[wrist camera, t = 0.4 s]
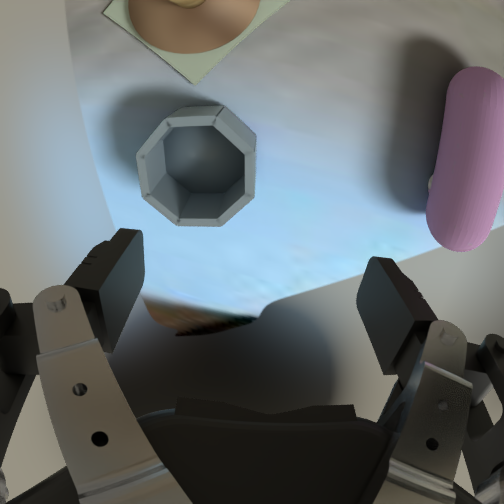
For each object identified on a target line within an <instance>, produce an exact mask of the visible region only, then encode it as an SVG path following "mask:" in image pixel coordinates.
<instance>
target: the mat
mask: <svg viewBox="0 0 504 504" xmlns="http://www.w3.org/2000/svg"><path fill="white" fill-rule="evenodd" d="M128 1H129V0H113V2H112V3H111V4H110V5H109V7H108V8H107V9H106V10H105V11H104V13H103V14H105V15H106V16H108V17H109V18H110V19H112V20H113V21H115V22H116V23H117V24H119V25H120V26H121V27H123V28H124V29H125V30H127V31H128V32H129V33H131V34H132V35H133V36H135V37H136V38H137V39H139V40H140V41H141V42H142V43H144V44H145V45H146V46H148V47H149V48H150V49H151V50H153V51H154V52H155V53H156V54H158V55H159V56H160V57H161V58H163V59H164V60H165V61H166V62H168V63H169V64H170V65H171V66H172V67H174V68H175V69H176V70H177V71H178V72H180V73H181V74H182V75H183V76H184V77H186V78H187V79H188V80H189V81H190V82H191V83H193V84H194V85H197V84H198V83H199V82H200V81H201V80H202V78H203V77H204V76H205V75H206V74H207V73H208V72H209V71H210V70H211V69H212V68H213V67H214V66H215V65H216V64H218V63H219V62H220V61H221V60H222V59H223V58H224V57H225V56H226V55H227V54H228V53H229V52H230V51H231V50H232V49H233V48H234V47H235V46H237V45H238V44H239V43H240V42H241V41H242V40H243V39H244V38H245V37H247V36H248V35H249V34H250V33H251V32H252V31H253V30H255V29H256V28H257V27H258V26H259V25H260V24H262V23H263V22H264V21H265V20H266V19H268V18H269V17H270V16H271V15H273V14H274V13H275V12H276V11H278V10H279V9H280V8H281V7H283V6H284V5H285V4H286V3H288V2H289V1H290V0H260V4H259V8H258V10H257V13H256V15H255V17H254V18H253V20H252V22H251V23H250V24H249V26H248V27H247V28H246V29H245V30H244V31H243V32H242V33H241V34H240V35H239V36H238V37H236V38H235V39H234V40H232V41H230V42H229V43H227V44H225V45H223V46H221V47H219V48H216V49H214V50H211V51H207V52H203V53H195V54H180V53H172V52H167V51H164V50H161V49H159V48H156V47H154V46H152V45H151V44H149V43H148V42H146V41H145V40H144V39H143V38H142V37H141V36H140V35H139V34H138V32H137V31H136V30H135V28H134V26H133V24H132V22H131V19H130V15H129V9H128Z"/></svg>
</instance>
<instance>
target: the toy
mask: <svg viewBox="0 0 504 504" xmlns="http://www.w3.org/2000/svg"><path fill="white" fill-rule="evenodd" d="M428 189H429V190H428V192H429V197H428V201H427V205H426V220H427V224H428V227H429V230H430V232H431V234H432V235H433V237H434V238H435V240H436V241H437V242H438V243H439V244H441V245H442V246H443V247H445V248H447V249H449V250H452V251H456V252H465V251H470V250H472V249H474V248H476V247H478V246H479V245H481V243H483V242H484V240H485V239H486V238H487V236H488V235H489V232H490V230H491V228H492V225H493V222H494V219H495V216H496V212H497V209H498V206H499V203H500V199H501V196H502V192H503V189H504V79H503V78H502V77H501V76H500V75H499V74H497V73H496V72H494V71H492V70H490V69H487V68H484V67H468V68H465V69H463V70H461V71H459V72H458V73H457V74H456V75H455V76H454V77H453V78H452V80H451V81H450V83H449V86H448V89H447V95H446V104H445V112H444V119H443V126H442V132H441V138H440V144H439V150H438V155H437V160H436V165H435V170H434V174H433V175H432V176H431V177H430V179H429V182H428Z"/></svg>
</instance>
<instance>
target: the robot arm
mask: <svg viewBox="0 0 504 504" xmlns="http://www.w3.org/2000/svg"><path fill="white" fill-rule="evenodd" d="M144 275H145V266H144V247H143V233H142V231H141V230H135V229H125V228H120V229H119V230H118V231H117V232H116V234H115V235H114V236H113V237H112V239H111V240H110V241H103V242H102V243H100V244H98V245H96V246H95V247H94V248H93V249H92V250H91V251H90V252H89V253H88V255H87V257H85V258H84V260H83V261H82V263H81V264H80V265H79V266H78V267H77V268H76V270H75V271H74V272H73V273H72V275H71V276H70V277H69V279H68V280H67V281H66V282H65V284H64V285H57V286H52V287H49V288H46V289H45V290H43V291H41V292H40V293H39V294H38V295H37V296H36V297H35V299H34V301H33V303H17V304H13V303H12V300H11V297H10V294H9V292H8V291H7V290H5V289H2V288H0V504H504V338H502V337H501V336H499V335H496V334H489V335H487V336H486V338H485V339H484V341H483V342H482V344H481V345H477V344H473V343H468V342H467V339H466V336H465V335H464V333H463V332H462V331H461V330H460V329H459V328H458V327H457V326H455V325H454V324H452V323H450V322H448V321H444V320H438V319H437V317H436V315H435V314H434V312H433V311H432V309H431V308H430V306H429V305H428V303H427V302H426V300H425V299H423V296H422V294H421V293H420V292H418V289H417V287H416V286H415V284H414V283H413V281H411V280H410V279H409V278H408V277H407V276H406V275H404V274H403V273H402V272H401V270H400V269H399V267H398V266H397V265H396V263H395V262H394V260H393V259H391V258H383V257H375V256H373V257H371V258H370V260H369V262H368V264H367V267H366V270H365V273H364V276H363V279H362V282H361V284H360V287H359V290H358V293H357V300H356V304H357V308H358V311H359V314H360V316H361V319H362V321H363V323H364V326H365V328H366V331H367V333H368V336H369V338H370V341H371V343H372V346H373V348H374V351H375V353H376V356H377V359H378V361H379V364H380V367H381V369H382V372H383V375H396V374H397V375H398V377H399V378H398V379H397V381H396V382H395V384H394V386H393V388H392V390H391V393H390V395H389V397H388V399H387V402H386V404H385V406H384V408H383V410H382V412H381V415H380V417H379V419H378V421H377V422H373V421H370V420H368V419H364V418H360V417H356V413H355V409H354V405H353V404H352V405H326V406H310V407H306V408H302V409H297V410H292V411H288V412H283V413H278V414H264V413H260V412H256V411H253V410H249V409H245V408H242V407H238V406H235V405H231V404H228V403H225V402H219V401H210V400H201V399H193V398H185V397H177V403H176V408H175V409H168V410H162V411H157V412H153V413H149V414H146V415H144V416H142V417H139V418H137V419H136V418H135V416H134V415H133V413H132V411H131V409H130V407H129V405H128V403H127V401H126V400H125V397H124V396H123V393H122V392H121V390H120V387H119V385H118V383H117V381H116V379H115V377H114V375H113V373H112V370H111V368H110V366H109V364H108V361H107V359H106V357H105V355H104V352H107V353H113V351H114V349H115V347H116V344H117V342H118V339H119V337H120V335H121V332H122V330H123V328H124V326H125V323H126V321H127V319H128V317H129V314H130V312H131V310H132V308H133V306H134V303H135V301H136V299H137V297H138V295H139V293H140V290H141V288H142V286H143V282H144ZM36 375H40V379H41V384H42V388H43V392H44V396H45V400H46V404H47V408H48V411H49V415H50V418H51V422H52V425H53V428H54V431H55V434H56V437H57V440H58V443H59V446H60V449H61V451H62V454H63V457H64V460H65V462H66V465H67V466H65V467H64V468H62V469H60V470H59V471H57V472H56V473H54V474H53V475H51V476H50V477H48V478H47V479H45V480H43V481H42V482H40V483H38V484H37V485H35V486H34V487H32V488H31V489H29V490H27V491H25V492H24V493H22V494H20V495H19V496H17V497H15V498H13V499H12V500H10V501H8V502H7V503H6V499H7V498H8V496H9V492H8V489H7V487H6V480H5V476H4V473H3V471H2V469H1V466H2V462H3V459H4V456H5V453H6V450H7V447H8V444H9V441H10V438H11V436H12V433H13V430H14V427H15V425H16V422H17V419H18V417H19V414H20V412H21V409H22V407H23V404H24V402H25V399H26V397H27V395H28V393H29V390H30V388H31V386H32V383H33V381H34V379H35V376H36ZM493 387H494V389H495V391H496V393H497V395H498V397H499V399H500V401H501V403H502V407H503V413H502V416H501V418H500V420H499V421H498V422H497V423H496V424H495V425H493V423H492V421H491V418H490V416H489V414H488V411H487V409H486V407H485V404H484V402H483V399H484V397H485V396H486V395H487V394H488V393H489V391H490V390H491V389H492V388H493ZM461 450H462V452H463V455H464V458H465V462H466V465H467V468H468V472H469V475H470V479H471V482H472V486H473V490H474V494H475V496H474V497H473V496H472V495H471V494H470V493H468V492H467V491H466V490H464V489H463V488H462V487H460V486H459V485H458V484H456V483H455V482H454V478H455V474H456V470H457V467H458V463H459V459H460V455H461Z"/></svg>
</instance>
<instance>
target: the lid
mask: <svg viewBox="0 0 504 504" xmlns="http://www.w3.org/2000/svg"><path fill="white" fill-rule="evenodd" d="M259 4H260V0H129V1H128V9H129V15H130V19H131V22H132V24H133V26H134V28H135V30H136V31H137V32H138V34H139V35H140V36H141V37H142V38H143V39H144V40H145V41H146V42H148V43H149V44H151V45H152V46H154V47H156V48H159V49H161V50H164V51H167V52H172V53H180V54H195V53H203V52H207V51H211V50H214V49H216V48H219V47H221V46H223V45H225V44H227V43H229V42H230V41H232V40H234V39H235V38H236V37H238V36H239V35H240V34H241V33H242V32H243V31H244V30H245V29H246V28H247V27H248V26H249V24H250V23H251V22H252V20H253V18H254V17H255V15H256V13H257V10H258V8H259Z"/></svg>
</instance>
